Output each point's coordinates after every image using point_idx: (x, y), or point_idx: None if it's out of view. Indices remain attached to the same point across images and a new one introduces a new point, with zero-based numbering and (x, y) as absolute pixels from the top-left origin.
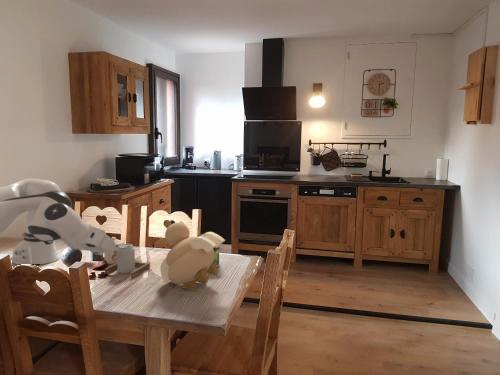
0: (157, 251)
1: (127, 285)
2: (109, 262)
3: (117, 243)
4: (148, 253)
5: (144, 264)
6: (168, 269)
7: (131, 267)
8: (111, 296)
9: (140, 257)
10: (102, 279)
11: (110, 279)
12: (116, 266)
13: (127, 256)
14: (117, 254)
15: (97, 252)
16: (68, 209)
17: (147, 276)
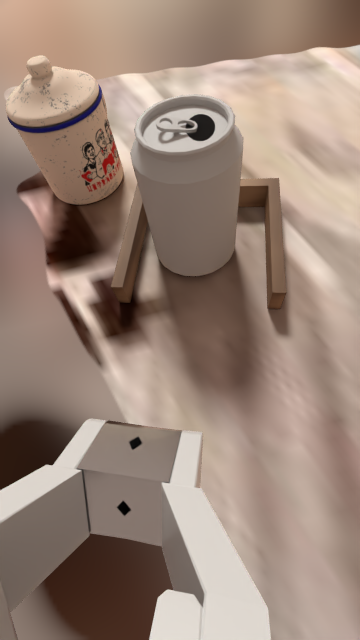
0: (197, 83)
1: (315, 398)
2: (81, 201)
3: (77, 97)
4: None
5: (256, 190)
6: None
7: (233, 240)
8: (347, 602)
9: None
10: (138, 356)
11: (177, 346)
12: (139, 234)
13: (224, 201)
14: (154, 201)
15: (137, 531)
16: None
17: (328, 270)
